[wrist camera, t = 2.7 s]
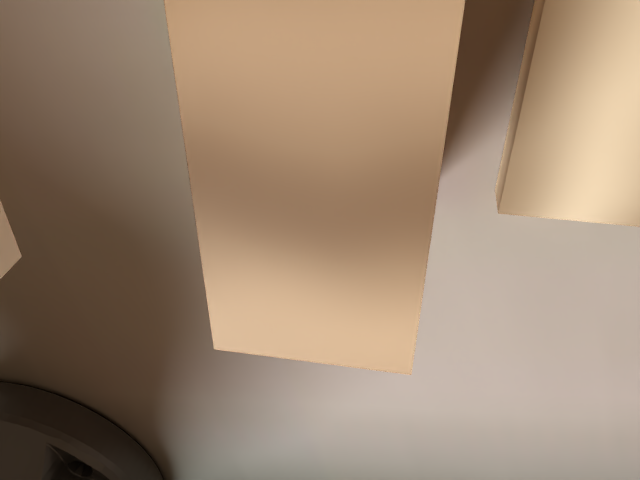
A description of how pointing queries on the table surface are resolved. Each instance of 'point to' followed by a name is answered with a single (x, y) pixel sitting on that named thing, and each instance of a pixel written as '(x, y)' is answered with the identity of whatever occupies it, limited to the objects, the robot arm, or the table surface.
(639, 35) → the board
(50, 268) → the table surface
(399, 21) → the sanding block
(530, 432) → the table surface
